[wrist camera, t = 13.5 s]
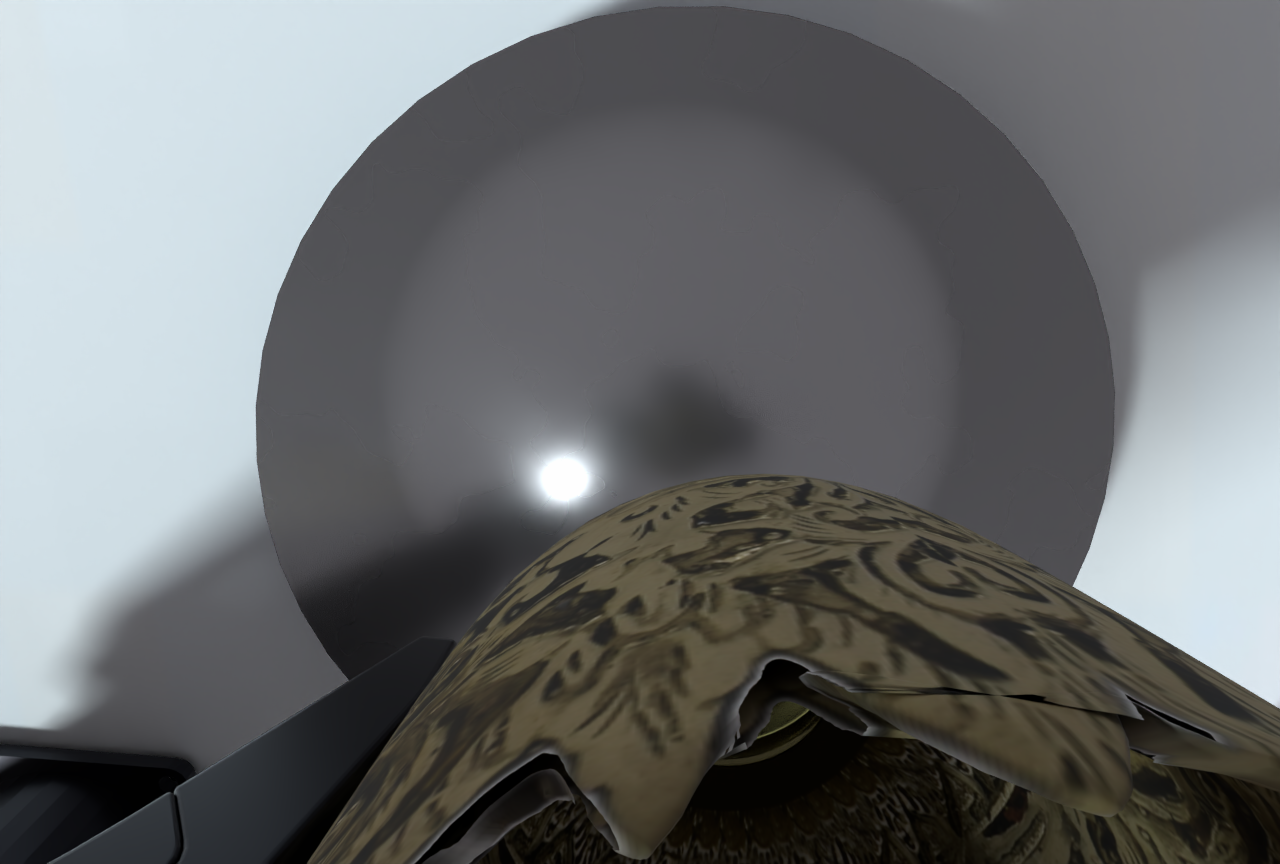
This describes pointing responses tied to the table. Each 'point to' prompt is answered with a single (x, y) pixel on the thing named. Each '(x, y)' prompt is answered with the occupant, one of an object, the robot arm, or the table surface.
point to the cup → (811, 706)
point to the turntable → (668, 315)
